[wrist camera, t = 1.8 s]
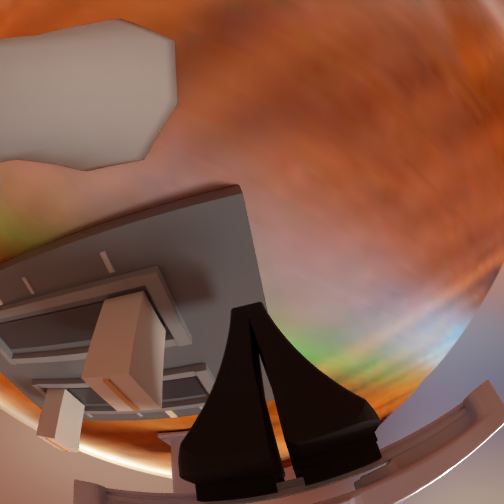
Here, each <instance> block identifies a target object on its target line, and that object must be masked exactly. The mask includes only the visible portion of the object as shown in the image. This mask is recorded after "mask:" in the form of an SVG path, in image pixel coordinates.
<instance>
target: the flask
mask: <svg viewBox="0 0 504 504" xmlns="http://www.w3.org/2000/svg"><path fill="white" fill-rule="evenodd" d="M177 103H178V99H177V83H176V63H175V41H173V40H171V39H169V38H166V37H164V36H162V35H160V34H158V33H155V32H153V31H151V30H149V29H146V28H144V27H141V26H139V25H136V24H134V23H131V22H129V21H126V20H124V19H114V20H108V21H102V22H97V23H92V24H88V25H83V26H77V27H71V28H66V29H62V30H57V31H53V32H49V33H45V34H41V35H38V36H24V37H14V38H6V39H0V162H4V161H10V160H15V159H17V160H26V161H34V162H42V163H49V164H56V165H60V166H65V167H69V168H73V169H77V170H82V171H91V170H95V169H99V168H104V167H109V166H114V165H118V164H124V163H129V162H134V161H140V160H144V159H145V157H146V155H147V153H148V152H149V150H150V148H151V146H152V144H153V143H154V141H155V139H156V137H157V136H158V134H159V132H160V131H161V129H162V127H163V126H164V124H165V122H166V121H167V119H168V117H169V116H170V114H171V113H172V111H173V110H174V108H175V106H176V105H177Z"/></svg>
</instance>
